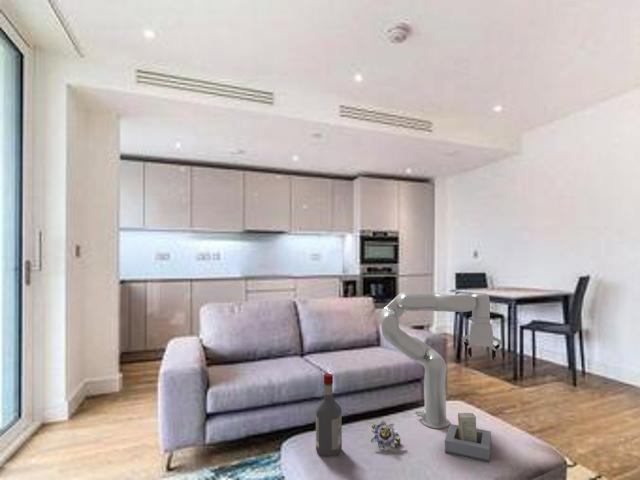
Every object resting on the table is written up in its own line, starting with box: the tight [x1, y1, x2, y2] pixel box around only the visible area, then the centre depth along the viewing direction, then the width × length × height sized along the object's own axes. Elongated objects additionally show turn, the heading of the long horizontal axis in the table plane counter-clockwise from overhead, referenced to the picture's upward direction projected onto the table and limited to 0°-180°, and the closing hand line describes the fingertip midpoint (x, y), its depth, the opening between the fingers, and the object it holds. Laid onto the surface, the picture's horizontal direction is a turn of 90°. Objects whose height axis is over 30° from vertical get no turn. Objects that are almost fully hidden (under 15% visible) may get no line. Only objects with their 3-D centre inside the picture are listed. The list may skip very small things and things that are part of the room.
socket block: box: [444, 423, 492, 464], centre depth 155 cm, size 16×16×5 cm
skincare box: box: [457, 412, 477, 443], centre depth 155 cm, size 6×4×12 cm
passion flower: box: [370, 419, 402, 452], centre depth 158 cm, size 11×11×12 cm
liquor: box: [315, 373, 343, 458], centre depth 154 cm, size 9×9×30 cm
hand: (481, 357), depth 177 cm, fingers open, 9 cm apart
